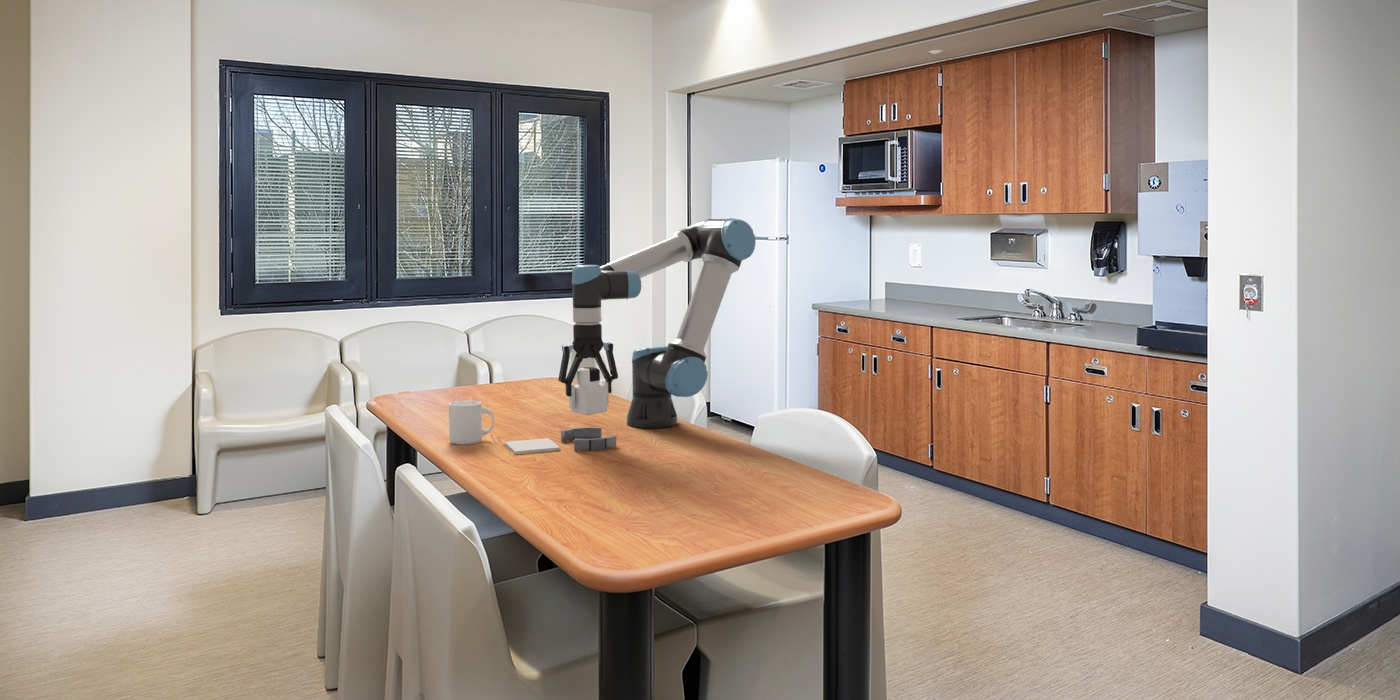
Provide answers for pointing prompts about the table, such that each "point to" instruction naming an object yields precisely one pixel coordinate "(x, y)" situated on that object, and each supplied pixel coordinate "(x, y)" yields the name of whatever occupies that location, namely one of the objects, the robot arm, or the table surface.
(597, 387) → the medicine bottle
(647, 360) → the robot arm
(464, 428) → the mug
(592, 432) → the cradle
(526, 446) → the tile
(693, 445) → the table surface
